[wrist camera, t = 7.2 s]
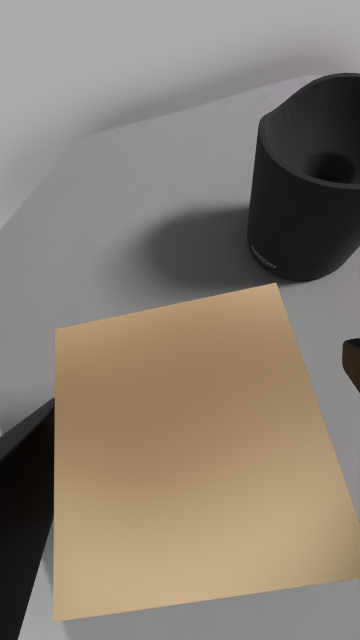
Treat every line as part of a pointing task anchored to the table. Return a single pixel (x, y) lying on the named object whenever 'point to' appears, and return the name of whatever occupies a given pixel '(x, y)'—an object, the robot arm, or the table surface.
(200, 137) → the table surface
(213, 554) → the oak pillar
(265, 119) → the pen holder
